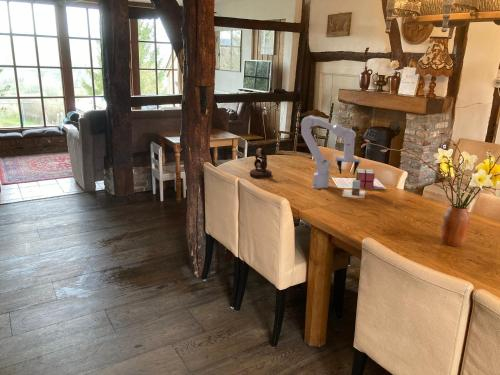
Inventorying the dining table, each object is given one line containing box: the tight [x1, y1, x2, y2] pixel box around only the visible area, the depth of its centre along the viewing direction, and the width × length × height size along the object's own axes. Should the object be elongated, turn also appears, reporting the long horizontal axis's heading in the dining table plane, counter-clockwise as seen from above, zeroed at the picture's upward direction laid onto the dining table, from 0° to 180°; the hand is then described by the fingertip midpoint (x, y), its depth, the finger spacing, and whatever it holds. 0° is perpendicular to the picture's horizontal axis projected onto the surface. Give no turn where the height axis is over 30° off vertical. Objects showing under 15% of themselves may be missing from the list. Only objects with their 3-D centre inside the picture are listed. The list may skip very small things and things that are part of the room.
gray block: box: [351, 179, 361, 190], centre depth 233 cm, size 4×4×4 cm
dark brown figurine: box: [249, 145, 273, 179], centre depth 273 cm, size 15×15×20 cm
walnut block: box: [351, 187, 361, 196], centre depth 234 cm, size 4×4×4 cm
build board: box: [341, 188, 366, 199], centre depth 236 cm, size 12×14×1 cm
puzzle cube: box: [355, 168, 375, 189], centre depth 251 cm, size 10×10×10 cm
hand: (347, 174), depth 242 cm, fingers open, 7 cm apart
